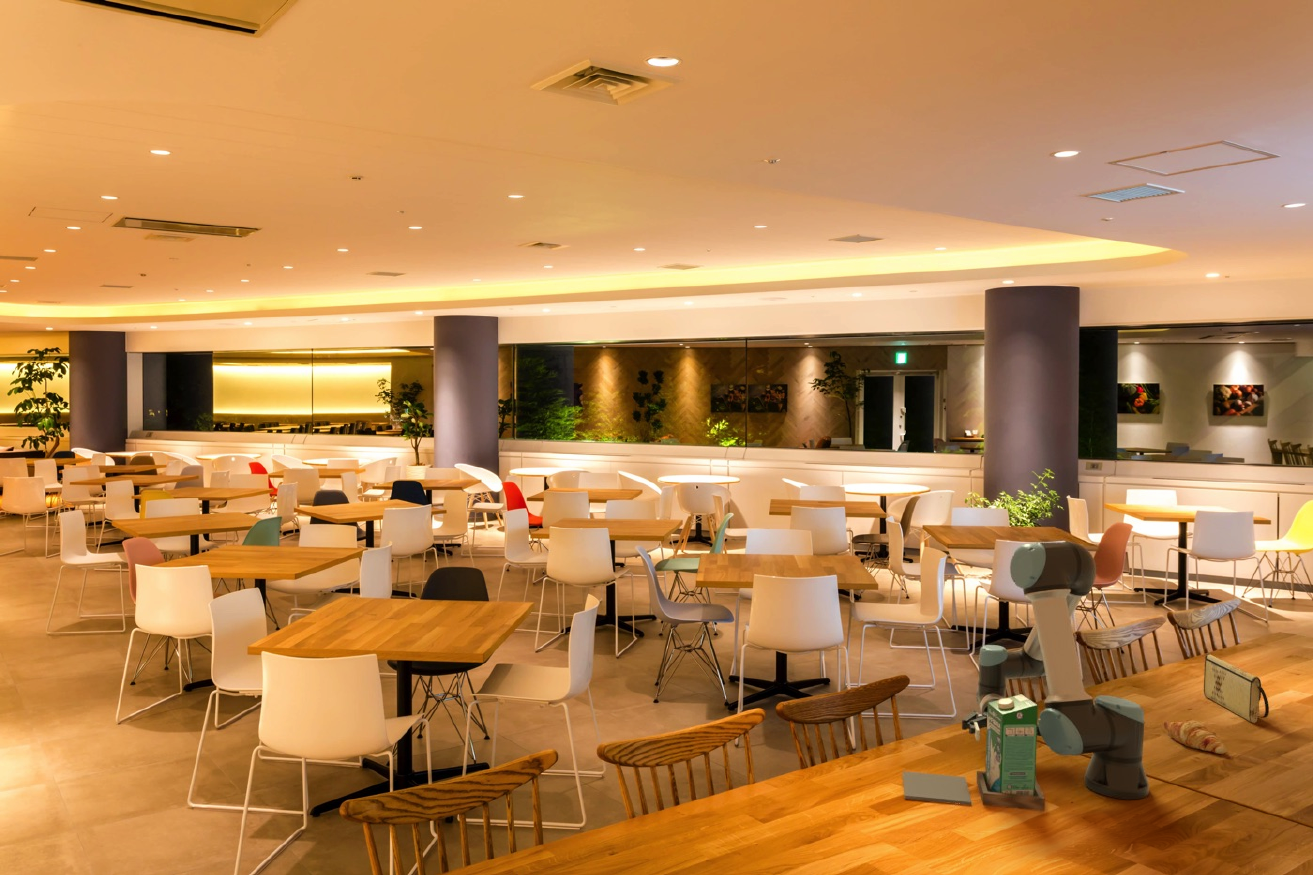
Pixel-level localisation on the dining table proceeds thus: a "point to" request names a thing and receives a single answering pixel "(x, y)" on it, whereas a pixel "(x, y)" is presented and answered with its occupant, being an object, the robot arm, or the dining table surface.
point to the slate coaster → (936, 788)
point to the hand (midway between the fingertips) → (1005, 737)
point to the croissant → (1195, 736)
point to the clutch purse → (1233, 688)
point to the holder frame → (1010, 797)
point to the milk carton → (1011, 746)
